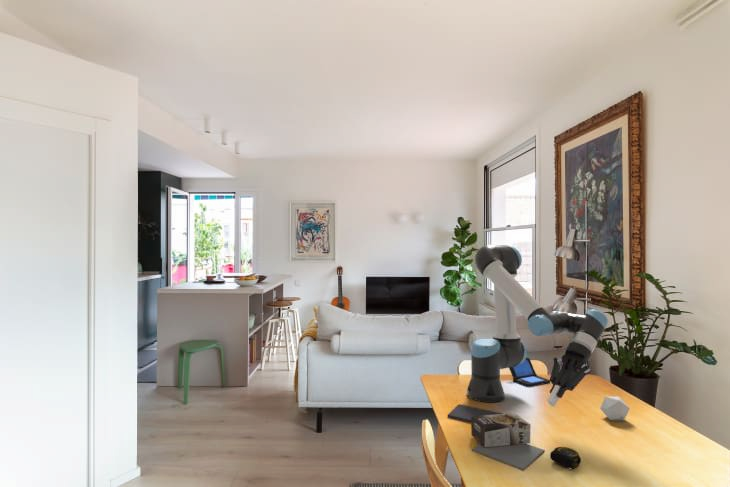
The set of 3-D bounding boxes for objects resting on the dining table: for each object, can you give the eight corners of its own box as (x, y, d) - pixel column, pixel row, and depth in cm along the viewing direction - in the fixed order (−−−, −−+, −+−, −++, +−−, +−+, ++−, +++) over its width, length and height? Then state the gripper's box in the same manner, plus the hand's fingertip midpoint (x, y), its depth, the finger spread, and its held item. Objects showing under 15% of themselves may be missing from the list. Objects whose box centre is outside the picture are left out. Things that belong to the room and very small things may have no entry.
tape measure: (548, 462, 117) (548, 449, 117) (561, 456, 121) (561, 443, 121) (572, 473, 111) (571, 459, 111) (584, 466, 115) (584, 453, 115)
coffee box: (531, 423, 127) (484, 427, 124) (530, 443, 127) (484, 448, 123) (514, 411, 136) (470, 415, 132) (514, 431, 136) (470, 435, 132)
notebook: (447, 418, 148) (507, 433, 137) (447, 414, 148) (507, 428, 137) (458, 407, 159) (514, 420, 148) (458, 403, 159) (514, 415, 148)
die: (628, 427, 142) (637, 402, 146) (605, 413, 144) (614, 389, 147) (615, 426, 150) (623, 403, 153) (593, 413, 152) (601, 390, 155)
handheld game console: (528, 387, 183) (528, 367, 183) (505, 379, 195) (505, 360, 195) (551, 383, 190) (551, 363, 190) (528, 375, 202) (528, 356, 202)
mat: (471, 450, 123) (471, 448, 123) (495, 434, 134) (495, 433, 134) (523, 470, 112) (523, 468, 112) (544, 451, 123) (544, 449, 123)
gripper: (603, 358, 138) (574, 417, 129) (568, 350, 149) (538, 403, 141) (594, 345, 135) (563, 403, 127) (559, 337, 147) (528, 391, 138)
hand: (550, 403), depth 134 cm, fingers closed
